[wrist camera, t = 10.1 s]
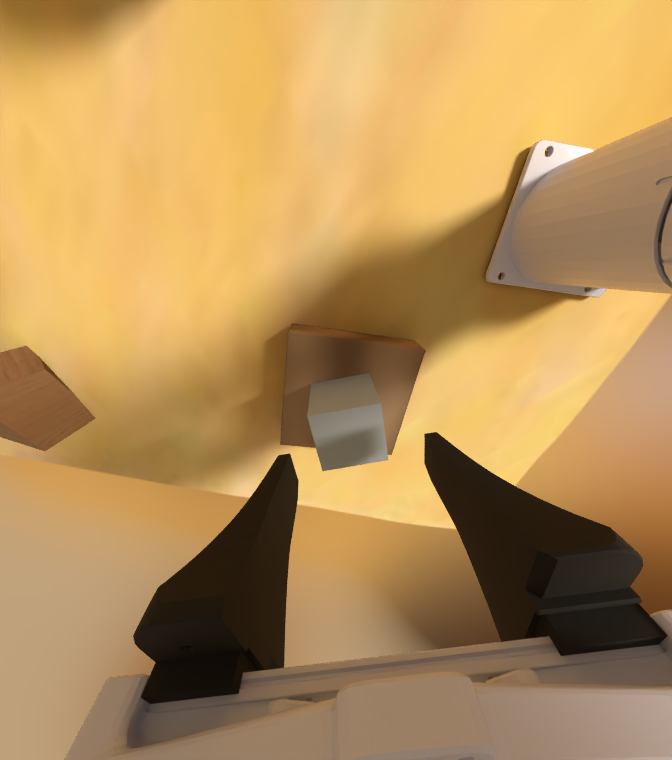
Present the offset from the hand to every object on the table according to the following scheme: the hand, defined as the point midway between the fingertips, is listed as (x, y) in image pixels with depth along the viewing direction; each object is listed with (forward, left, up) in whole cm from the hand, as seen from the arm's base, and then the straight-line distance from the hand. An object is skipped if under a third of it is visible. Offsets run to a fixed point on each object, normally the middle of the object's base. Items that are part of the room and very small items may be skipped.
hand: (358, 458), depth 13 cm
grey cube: (0, +1, -7) cm, 7 cm away
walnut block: (0, +1, -10) cm, 10 cm away
